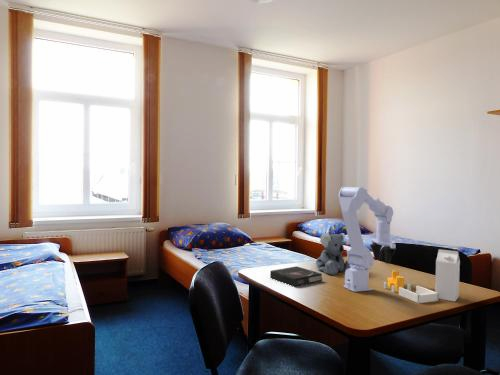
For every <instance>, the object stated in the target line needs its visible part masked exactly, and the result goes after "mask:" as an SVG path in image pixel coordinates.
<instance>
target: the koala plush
mask: <svg viewBox="0 0 500 375" xmlns="http://www.w3.org/2000/svg"><path fill="white" fill-rule="evenodd" d="M345 238H346V235H345V233H343V232H341V233H339V234H338V233H326V232H325V233H323V234H321V235H320V236H319V240H320V241H319V243H321V245H322V246H323V247H324V250H322V252H321V254H320V256H319V257H318V258H316V261H315V265H316V268H317V270H319V271H321V272H323V273H325V274H326V275H329V276H336V275H337V274H338V273H339V272H342V273H345V271H346V270H347V269H349V268H351V267H350V264H349V263H348V261H347V260H346V261H345V259H344V257H343V255H342V254H343V252H344V249H345V248H344V241H345Z"/></svg>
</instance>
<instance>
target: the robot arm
mask: <svg viewBox="0 0 500 375" xmlns="http://www.w3.org/2000/svg"><path fill="white" fill-rule="evenodd" d="M367 191H368V190H367V189H366V188H364V187H362V186H360V187H359V186H357V187H356V186H355V187H354V186H341V188H340V189H339V192H338V195H337V197H338V200H339V201H338V202H339V205H340V208H341V214H342V217H343V221H344V226H345V230H346V234H347V237H348V240H349V245H350V247H349V248H348V249H347V250H346V254H347V256H346V261H348V263H349V264H350V267H351V268H349V269H347V270H346V271H345V272H344V285H343V288H345V289H347V290H350V291H352V292H366V291H373V289H374V288H372V287H370V286H369V276H370V275H369V273H370V269H371V268H372V267H373V265H374V263H375V261H379V260H380V258H381V250H382V249H383V254H384V261H385V262H384V263H385V264H387V265H389V264H391V262H392V258H393V256H394V254H395V253H396V251H397V248H396V243H394V242H392V241H391V240H390V239H391V238H390V237H391V222H392V218H393V215H394V209H393V207H391V206H390V205H386V203H385V202H383V201H381V200H380V198H379V197H372V196H371V195H370V194H369V193H368V192H367ZM364 204H366V205H367V208H368V210H370V211H371V212H372V213H373V215H374V216H375V217H376V237H375V238H371V239H370V245H369V247H370V248H371V250H370V248H368V247H367V246H366V245H365V244H364V240H363V237H362V233H361V232H362V231H361V228H360V224H359V220H358V216H357V211H358V210H360V209H361V208H362V206H363V205H364ZM383 246H384V247H383ZM371 251H372V253H371Z"/></svg>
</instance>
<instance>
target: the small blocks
mask: <svg viewBox="0 0 500 375" xmlns="http://www.w3.org/2000/svg"><path fill="white" fill-rule="evenodd" d="M383 289H388V284H387V282H386V281H384V282H383Z"/></svg>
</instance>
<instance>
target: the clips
mask: <svg viewBox="0 0 500 375" xmlns="http://www.w3.org/2000/svg"><path fill="white" fill-rule="evenodd" d="M406 287H407V288H406V290H409V291H412V284H410V283H407V285H406ZM395 292H396V290H395V286H394V285H392V288H391V293H395Z"/></svg>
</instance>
